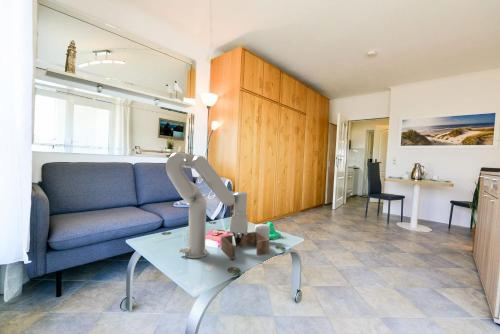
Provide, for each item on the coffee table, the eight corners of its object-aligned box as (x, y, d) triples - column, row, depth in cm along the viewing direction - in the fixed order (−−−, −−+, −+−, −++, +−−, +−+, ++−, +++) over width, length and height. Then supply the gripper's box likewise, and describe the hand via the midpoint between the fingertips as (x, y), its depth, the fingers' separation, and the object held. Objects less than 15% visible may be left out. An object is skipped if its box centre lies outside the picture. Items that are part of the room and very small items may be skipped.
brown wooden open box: (231, 260, 118) (232, 246, 117) (221, 249, 132) (221, 236, 131) (268, 253, 129) (269, 239, 129) (255, 243, 143) (255, 231, 143)
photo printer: (268, 241, 148) (269, 223, 148) (269, 243, 144) (270, 225, 144) (253, 241, 147) (254, 223, 147) (254, 243, 143) (255, 225, 142)
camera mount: (268, 240, 150) (269, 225, 149) (261, 237, 156) (262, 222, 156) (281, 237, 157) (281, 223, 156) (274, 234, 163) (274, 220, 162)
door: (237, 259, 119) (238, 245, 118) (233, 259, 118) (234, 245, 118) (235, 248, 133) (236, 236, 133) (231, 248, 133) (232, 236, 132)
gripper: (226, 213, 125) (224, 244, 126) (251, 215, 123) (249, 247, 124) (228, 210, 132) (227, 240, 133) (253, 212, 131) (251, 242, 131)
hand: (238, 243), depth 128 cm, fingers closed
